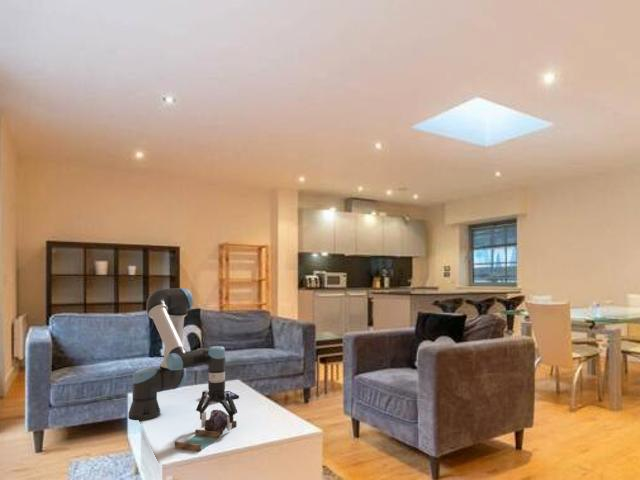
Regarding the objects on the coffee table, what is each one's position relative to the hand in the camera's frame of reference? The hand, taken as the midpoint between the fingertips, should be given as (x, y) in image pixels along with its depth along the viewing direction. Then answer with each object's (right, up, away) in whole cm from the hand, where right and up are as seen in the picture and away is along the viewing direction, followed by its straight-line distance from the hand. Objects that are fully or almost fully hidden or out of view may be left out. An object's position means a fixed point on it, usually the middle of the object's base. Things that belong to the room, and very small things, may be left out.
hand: (216, 428), depth 206 cm
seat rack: (-2, -1, -7) cm, 8 cm away
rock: (+1, -1, 0) cm, 2 cm away
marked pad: (-5, 0, -14) cm, 15 cm away
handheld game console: (-9, -6, +56) cm, 57 cm away
